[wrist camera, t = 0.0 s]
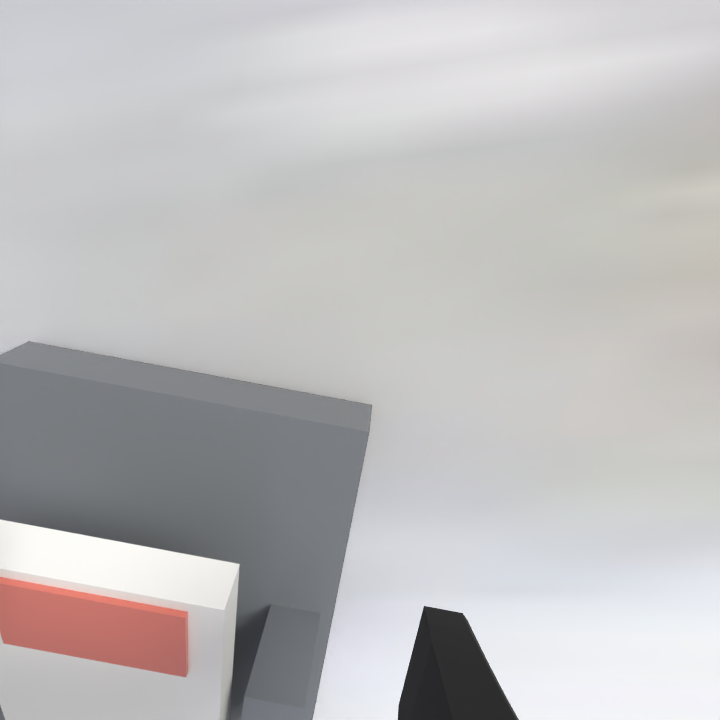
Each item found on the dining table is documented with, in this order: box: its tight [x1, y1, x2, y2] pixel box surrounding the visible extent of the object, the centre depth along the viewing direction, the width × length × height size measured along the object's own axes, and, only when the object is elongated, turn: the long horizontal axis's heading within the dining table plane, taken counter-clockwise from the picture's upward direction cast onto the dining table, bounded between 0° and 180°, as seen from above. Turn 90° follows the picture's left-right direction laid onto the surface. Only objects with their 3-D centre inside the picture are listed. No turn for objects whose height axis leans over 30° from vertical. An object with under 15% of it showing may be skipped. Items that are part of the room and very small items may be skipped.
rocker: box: [0, 520, 240, 720], centre depth 16 cm, size 12×6×1 cm, turn 170°
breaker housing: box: [0, 342, 372, 720], centre depth 19 cm, size 16×11×6 cm
